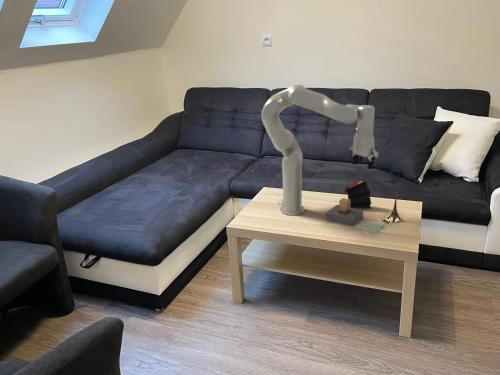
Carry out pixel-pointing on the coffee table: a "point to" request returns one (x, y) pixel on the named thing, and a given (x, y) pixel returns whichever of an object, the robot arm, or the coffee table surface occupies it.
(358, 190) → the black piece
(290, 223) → the coffee table surface
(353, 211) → the grey flat block
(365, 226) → the mat
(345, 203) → the plug
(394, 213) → the eiffel tower figurine
